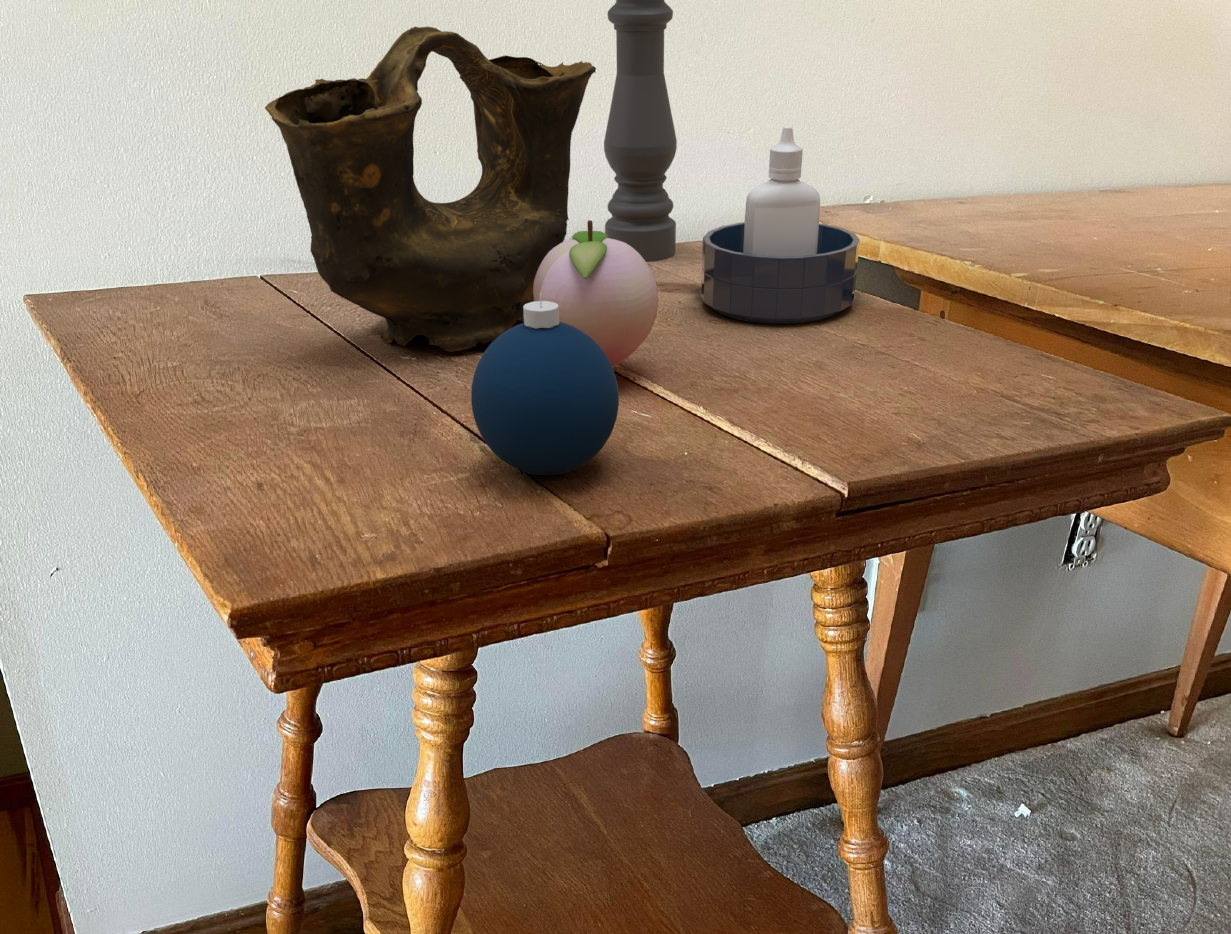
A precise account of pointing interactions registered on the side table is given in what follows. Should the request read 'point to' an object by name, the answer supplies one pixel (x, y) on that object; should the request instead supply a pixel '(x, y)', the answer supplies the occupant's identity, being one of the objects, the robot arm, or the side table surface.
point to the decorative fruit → (600, 291)
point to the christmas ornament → (544, 394)
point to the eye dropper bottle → (782, 207)
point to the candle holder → (641, 131)
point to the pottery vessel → (426, 231)
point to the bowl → (779, 277)
